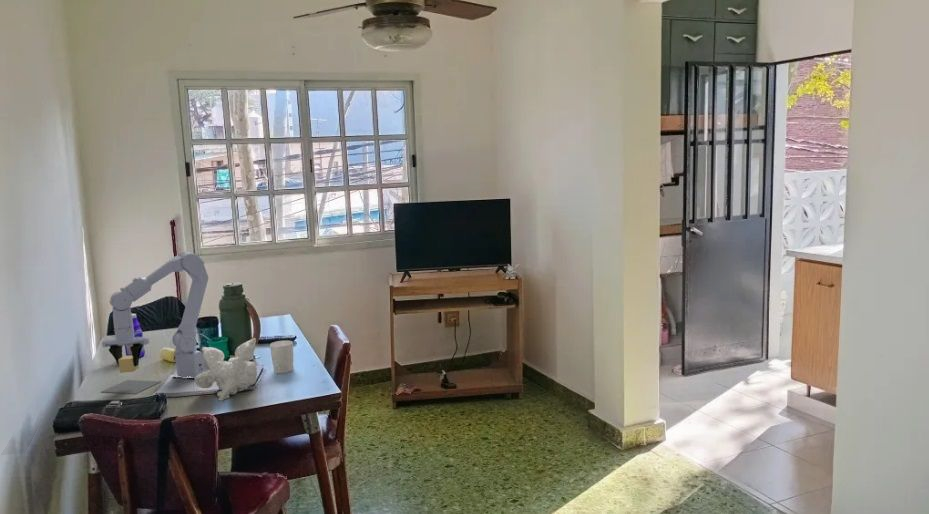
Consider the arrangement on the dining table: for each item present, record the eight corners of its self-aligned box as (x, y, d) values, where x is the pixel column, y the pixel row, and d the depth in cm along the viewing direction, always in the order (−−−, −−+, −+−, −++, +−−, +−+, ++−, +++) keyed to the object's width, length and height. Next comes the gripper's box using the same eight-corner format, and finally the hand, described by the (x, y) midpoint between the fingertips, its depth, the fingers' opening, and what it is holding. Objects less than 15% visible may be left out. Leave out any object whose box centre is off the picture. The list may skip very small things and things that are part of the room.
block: (139, 367, 227) (137, 355, 226) (133, 371, 222) (132, 358, 222) (125, 368, 226) (123, 355, 226) (119, 372, 222) (118, 359, 221)
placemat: (160, 382, 229) (160, 381, 229) (135, 394, 217) (135, 393, 217) (127, 380, 232) (127, 379, 232) (100, 392, 221) (100, 391, 221)
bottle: (135, 360, 258) (130, 316, 255) (123, 359, 259) (117, 316, 257) (148, 354, 265) (143, 312, 263) (135, 354, 266) (130, 312, 264)
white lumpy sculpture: (268, 349, 230) (251, 332, 212) (268, 407, 222) (250, 394, 204) (213, 355, 229) (192, 339, 211) (211, 413, 221) (188, 401, 203)
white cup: (284, 366, 241) (281, 339, 239) (299, 368, 237) (297, 341, 235) (267, 372, 234) (265, 345, 233) (283, 375, 230) (281, 347, 228)
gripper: (150, 322, 226) (155, 361, 228) (106, 325, 225) (111, 363, 227) (142, 327, 219) (147, 367, 221) (97, 330, 218) (102, 370, 220)
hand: (128, 365), depth 224 cm, fingers closed on block, 4 cm apart
